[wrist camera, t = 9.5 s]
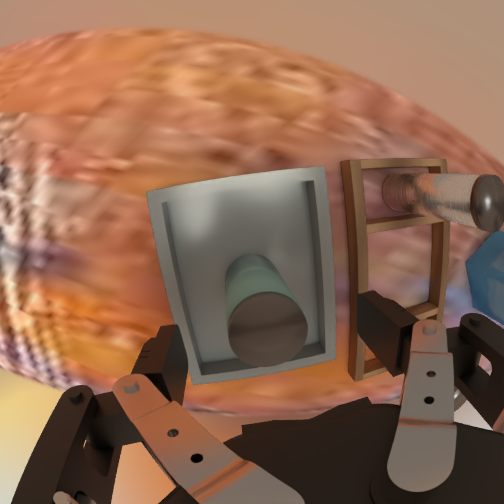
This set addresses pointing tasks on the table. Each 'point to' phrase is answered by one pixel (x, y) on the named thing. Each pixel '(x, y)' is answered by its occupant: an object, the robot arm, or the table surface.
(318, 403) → the table surface
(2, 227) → the table surface
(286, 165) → the table surface
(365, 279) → the rack
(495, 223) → the glass vial
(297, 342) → the cylinder
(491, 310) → the perfume bottle
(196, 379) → the dish
